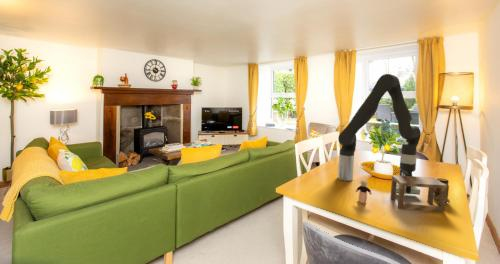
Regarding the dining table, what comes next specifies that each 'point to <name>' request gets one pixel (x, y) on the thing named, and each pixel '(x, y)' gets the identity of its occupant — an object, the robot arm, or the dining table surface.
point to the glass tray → (413, 190)
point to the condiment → (437, 191)
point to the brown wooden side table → (419, 182)
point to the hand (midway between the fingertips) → (405, 190)
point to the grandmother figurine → (363, 192)
